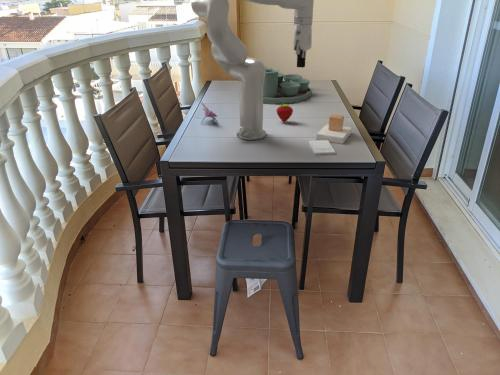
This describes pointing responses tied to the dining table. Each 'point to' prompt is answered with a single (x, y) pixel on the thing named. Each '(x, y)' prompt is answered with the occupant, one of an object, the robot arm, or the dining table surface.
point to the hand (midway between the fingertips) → (300, 66)
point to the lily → (208, 113)
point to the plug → (336, 122)
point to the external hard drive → (321, 147)
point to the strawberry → (284, 112)
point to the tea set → (284, 87)
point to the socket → (334, 134)
